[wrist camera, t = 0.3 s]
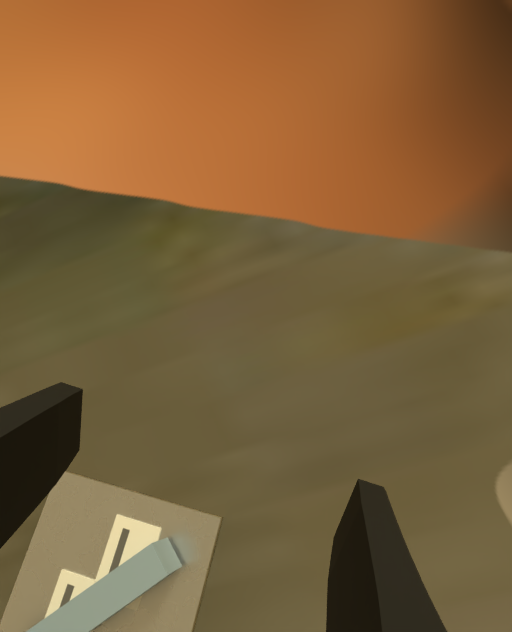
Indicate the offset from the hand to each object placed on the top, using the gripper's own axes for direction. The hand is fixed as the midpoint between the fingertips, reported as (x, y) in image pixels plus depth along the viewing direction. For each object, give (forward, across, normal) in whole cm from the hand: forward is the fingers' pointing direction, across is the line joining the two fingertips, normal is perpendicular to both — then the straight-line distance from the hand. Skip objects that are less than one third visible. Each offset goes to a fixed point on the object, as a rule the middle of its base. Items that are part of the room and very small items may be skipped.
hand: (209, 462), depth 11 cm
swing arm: (+11, +9, +30) cm, 33 cm away
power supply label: (+15, +7, +27) cm, 31 cm away
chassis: (+12, +8, +30) cm, 34 cm away
